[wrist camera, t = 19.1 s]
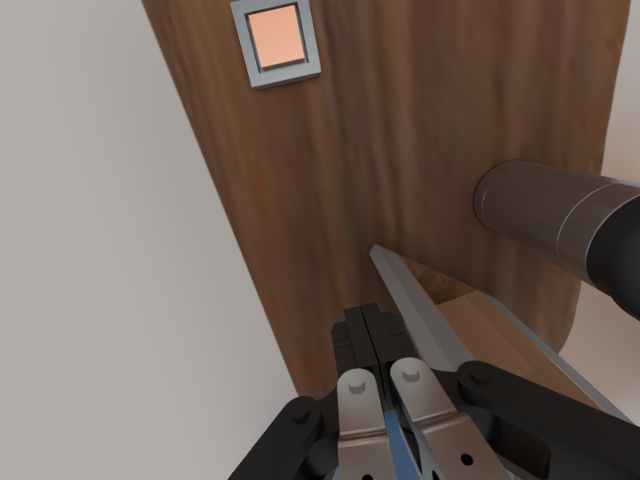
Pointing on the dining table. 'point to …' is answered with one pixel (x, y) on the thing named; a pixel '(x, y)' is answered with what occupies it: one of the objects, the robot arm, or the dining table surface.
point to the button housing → (250, 4)
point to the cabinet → (475, 330)
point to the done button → (277, 38)
